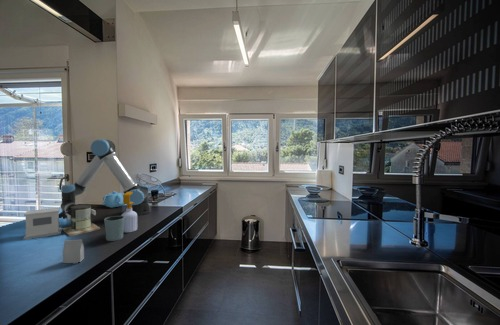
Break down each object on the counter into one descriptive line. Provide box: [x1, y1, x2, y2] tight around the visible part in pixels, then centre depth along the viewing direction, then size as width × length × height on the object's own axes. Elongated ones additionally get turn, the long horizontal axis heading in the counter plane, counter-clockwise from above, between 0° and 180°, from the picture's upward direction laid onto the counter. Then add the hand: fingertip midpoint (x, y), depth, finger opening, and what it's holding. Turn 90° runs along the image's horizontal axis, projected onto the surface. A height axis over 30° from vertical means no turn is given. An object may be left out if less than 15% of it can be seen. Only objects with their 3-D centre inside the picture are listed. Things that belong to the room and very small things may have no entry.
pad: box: [61, 222, 101, 237], centre depth 146 cm, size 16×16×1 cm
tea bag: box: [62, 239, 85, 264], centre depth 105 cm, size 4×7×10 cm, turn 105°
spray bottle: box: [120, 192, 138, 233], centre depth 146 cm, size 9×9×25 cm
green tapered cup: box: [103, 215, 124, 242], centre depth 133 cm, size 10×10×12 cm
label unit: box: [23, 207, 62, 241], centre depth 137 cm, size 16×10×14 cm, turn 127°
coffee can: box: [70, 203, 92, 231], centre depth 146 cm, size 10×10×14 cm
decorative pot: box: [102, 190, 125, 209], centre depth 206 cm, size 16×16×14 cm
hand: (82, 215), depth 144 cm, fingers open, 13 cm apart
